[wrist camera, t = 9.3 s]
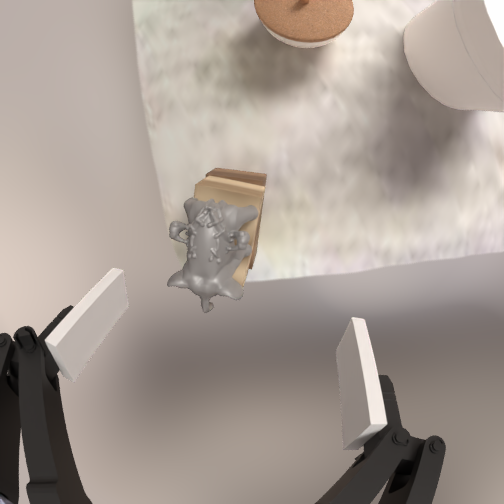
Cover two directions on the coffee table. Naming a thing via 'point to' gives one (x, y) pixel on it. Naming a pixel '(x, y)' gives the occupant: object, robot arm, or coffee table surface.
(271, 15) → the lidded jar
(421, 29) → the canister
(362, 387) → the robot arm
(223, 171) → the tower base
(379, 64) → the coffee table surface
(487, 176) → the coffee table surface
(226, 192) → the light wooden block
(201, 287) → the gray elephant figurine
